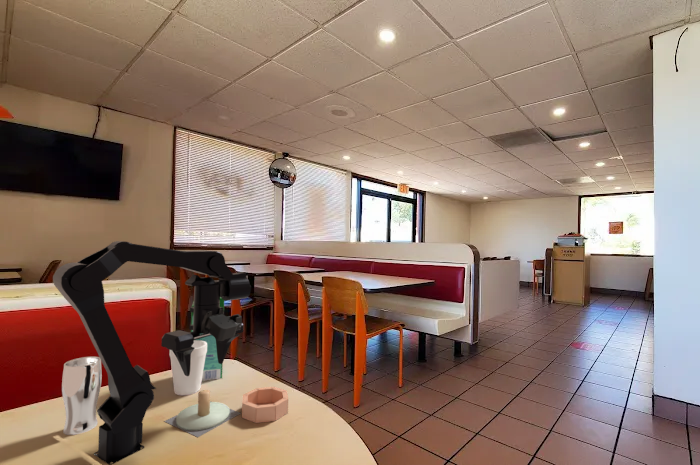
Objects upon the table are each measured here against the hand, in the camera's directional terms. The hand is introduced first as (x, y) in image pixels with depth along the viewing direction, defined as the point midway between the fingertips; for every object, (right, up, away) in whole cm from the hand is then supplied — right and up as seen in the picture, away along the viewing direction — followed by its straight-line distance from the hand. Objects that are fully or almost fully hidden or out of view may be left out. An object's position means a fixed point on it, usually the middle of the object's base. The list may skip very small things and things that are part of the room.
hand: (204, 369), depth 82 cm
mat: (0, -12, 0) cm, 12 cm away
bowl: (+13, -12, +4) cm, 18 cm away
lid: (0, -11, 0) cm, 11 cm away
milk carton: (-10, -12, +25) cm, 29 cm away
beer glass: (-25, -11, -5) cm, 28 cm away
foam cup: (-11, -12, +14) cm, 21 cm away
